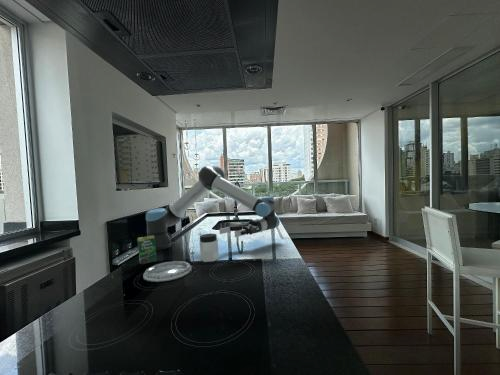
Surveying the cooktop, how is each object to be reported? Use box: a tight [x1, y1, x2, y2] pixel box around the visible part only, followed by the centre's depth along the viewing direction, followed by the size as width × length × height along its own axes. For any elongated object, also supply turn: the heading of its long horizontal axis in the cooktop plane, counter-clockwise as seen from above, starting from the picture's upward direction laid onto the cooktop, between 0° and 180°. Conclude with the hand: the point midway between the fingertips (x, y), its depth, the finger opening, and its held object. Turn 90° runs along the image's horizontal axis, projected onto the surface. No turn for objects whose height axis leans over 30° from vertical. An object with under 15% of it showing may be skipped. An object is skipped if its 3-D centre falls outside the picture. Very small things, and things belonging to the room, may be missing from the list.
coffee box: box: [137, 235, 158, 265], centre depth 128 cm, size 8×3×13 cm, turn 117°
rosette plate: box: [142, 260, 192, 283], centre depth 111 cm, size 20×20×2 cm
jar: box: [199, 233, 220, 263], centre depth 127 cm, size 9×8×12 cm
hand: (227, 232), depth 133 cm, fingers open, 13 cm apart
